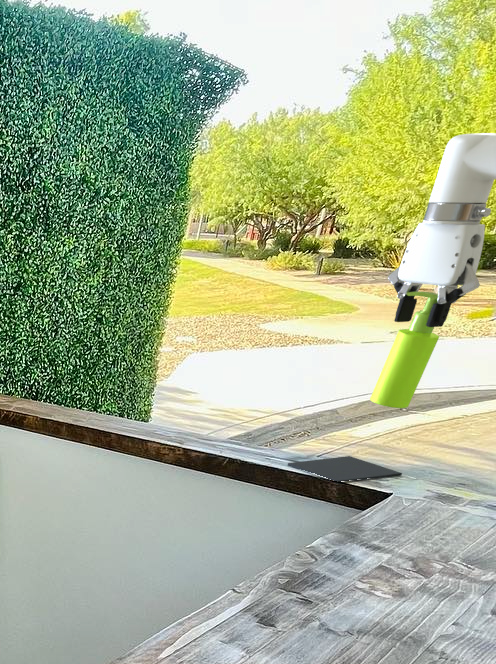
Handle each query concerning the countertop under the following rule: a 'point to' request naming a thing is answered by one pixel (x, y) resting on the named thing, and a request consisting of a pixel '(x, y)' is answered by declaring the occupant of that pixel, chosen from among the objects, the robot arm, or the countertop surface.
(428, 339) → the soap dispenser
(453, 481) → the countertop surface
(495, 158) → the robot arm
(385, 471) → the mat
